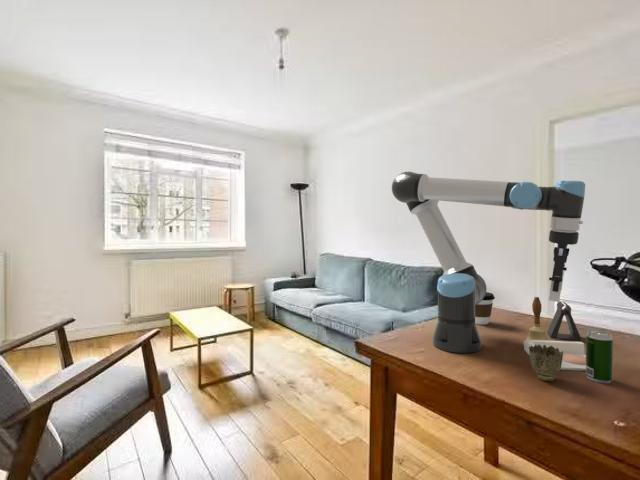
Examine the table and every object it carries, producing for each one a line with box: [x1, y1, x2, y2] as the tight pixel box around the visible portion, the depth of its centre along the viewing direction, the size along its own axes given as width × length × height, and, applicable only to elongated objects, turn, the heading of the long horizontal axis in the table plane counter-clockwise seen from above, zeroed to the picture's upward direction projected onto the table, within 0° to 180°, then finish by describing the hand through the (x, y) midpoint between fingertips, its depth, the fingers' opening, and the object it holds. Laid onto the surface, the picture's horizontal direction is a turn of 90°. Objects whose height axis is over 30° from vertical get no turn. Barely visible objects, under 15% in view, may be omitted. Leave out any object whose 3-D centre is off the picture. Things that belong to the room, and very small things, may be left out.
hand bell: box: [522, 296, 549, 345], centre depth 114 cm, size 8×8×16 cm
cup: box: [529, 344, 563, 382], centre depth 89 cm, size 8×7×8 cm
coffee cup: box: [475, 291, 495, 326], centre depth 141 cm, size 11×11×12 cm
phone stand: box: [546, 301, 582, 342], centre depth 121 cm, size 9×6×12 cm, turn 66°
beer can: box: [585, 329, 614, 384], centre depth 89 cm, size 5×5×12 cm
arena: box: [523, 339, 586, 372], centre depth 101 cm, size 16×14×4 cm
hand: (555, 294), depth 113 cm, fingers open, 13 cm apart
